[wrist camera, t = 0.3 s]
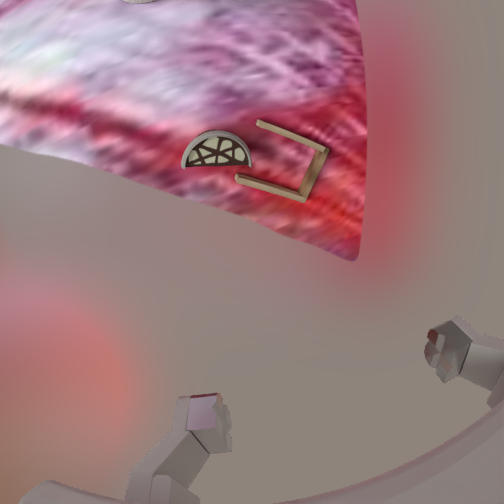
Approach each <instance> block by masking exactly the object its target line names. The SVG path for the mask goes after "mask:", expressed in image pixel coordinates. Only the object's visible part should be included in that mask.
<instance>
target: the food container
mask: <svg viewBox="0 0 504 504" xmlns="http://www.w3.org/2000/svg"><path fill="white" fill-rule="evenodd" d="M229 165H249V166H250V167H251V166H252V160H251V154H250V151H249V149H248V147H247V145H246V144H245V143H244V141H243V140H242V139H240V138H239V137H238V136H236V135H235V134H232V133H230V132H226V131H219V130H208V131H205V132H203V133H201V134H200V135H198V136H197V137H196V138H195V139H194V140H193V141H192V142H191V143H190V144H189V145H188V146H187V148H186V150H185V152H184V154H183V157H182V162H181V167H182V168H184V169H185V167H195V166H229Z"/></svg>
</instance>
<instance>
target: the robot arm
mask: <svg viewBox="0 0 504 504" xmlns="http://www.w3.org/2000/svg"><path fill="white" fill-rule="evenodd" d="M123 1H126V2H130V3H147V2H151V1H155V0H123ZM427 338H428V339H429V341H428V342H427V344H426V345H425V351H424V353H425V358H426V360H427V362H428V364H429V365H430V366H431V367H434V368H436V374H437V376H438V377H439V378H440V379H441V381H442V382H443V383H446V382H448V381H450V380H451V379H453V378H455V377H457V376H458V375H459V376H460V377H462V378H464V379H466V380H468V381H471V382H473V383H475V384H477V385H479V386H481V387H483V388H486V389H488V390H490V391H492V392H491V394H490V396H489V398H488V399H487V404H488V405H489V406H490V408H491V410H490V411H489V412H488V413H486V414H485V415H484V416H483V417H481V418H480V419H479V420H477V421H476V422H474V423H473V424H472V425H470V426H469V427H468V428H466V429H465V430H463V431H462V432H460V433H459V434H457V435H456V436H454V437H452V438H451V439H449V440H448V441H446V442H444V443H443V444H441V445H439V446H438V447H436V448H434V449H432V450H431V451H429V452H427V453H425V454H424V455H421V456H419V457H418V458H416V459H414V460H412V461H410V462H408V463H405V464H403V465H402V466H399V467H397V468H395V469H392V470H390V471H388V472H385V473H383V474H381V475H378V476H376V477H373V478H370V479H368V480H365V481H362V482H359V483H357V484H354V485H351V486H348V487H345V488H341V489H338V490H334V491H331V492H327V493H323V494H319V495H315V496H311V497H307V498H302V499H297V500H292V501H286V502H280V503H274V504H504V339H500V338H496V337H492V336H488V335H485V334H484V335H482V336H481V335H480V334H479V333H478V332H477V331H476V330H475V329H474V328H473V327H471V325H469V324H468V323H467V322H466V321H465V320H464V319H463V318H462V317H460V316H456V317H454V318H452V319H450V320H448V321H446V322H444V323H442V324H440V325H438V326H436V327H434V328H432V329H430V330H429V332H428V335H427ZM222 400H223V399H222V397H221V395H220V393H211V394H202V395H192V396H181V397H178V399H177V401H176V407H175V413H174V420H173V425H172V432H167V433H166V435H165V436H164V437H163V438H162V439H161V440H160V441H159V442H158V443H157V444H156V445H155V446H154V447H153V448H152V450H150V452H149V453H148V454H147V455H146V456H145V457H144V458H143V459H142V460H141V461H140V462H139V463H138V464H137V465H136V466H135V467H134V468H133V469H132V470H131V471H130V474H129V480H128V484H127V489H126V495H125V500H119V499H115V498H110V497H106V496H102V495H98V494H94V493H90V492H86V491H83V490H80V489H77V488H74V487H71V486H68V485H65V484H62V483H60V482H57V481H53V480H47V481H44V482H42V483H40V484H39V485H37V486H36V487H34V488H33V489H32V490H31V491H29V492H28V493H26V494H25V495H24V496H23V497H22V499H21V501H20V502H19V504H200V498H198V496H196V495H195V494H193V493H192V492H190V491H189V490H187V489H188V488H189V486H190V485H191V483H192V482H193V480H194V479H195V477H196V476H197V474H198V473H199V471H200V470H201V468H202V467H203V465H204V464H205V462H206V461H207V459H208V458H209V456H210V455H209V454H217V453H225V452H232V437H231V435H230V434H229V432H228V431H229V430H230V429H231V419H230V413H229V410H228V408H227V406H226V405H224V404H223V401H222Z"/></svg>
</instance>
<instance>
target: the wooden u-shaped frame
mask: <svg viewBox="0 0 504 504" xmlns="http://www.w3.org/2000/svg"><path fill="white" fill-rule="evenodd" d="M256 125H257V126H259V127H261V128H264V129H267V130H270V131H272V132H275V133H278V134H280V135H283V136H285V137H288V138H290V139H293V140H295V141H298V142H300V143H303V144H305V145H307V146H310V147H312V148H314V149H317V150H316V153H315V155H314V157H313V159H312V161H311V163H310V166H309V168H308V170H307V172H306V174H305V176H304V178H303V181H302V183H301V185H300V187H299V189H298V191H294V190H291V189H288V188H285V187H282V186H279V185H275V184H272V183H269V182H266V181H263V180H259V179H256V178H253V177H249V176H246V175H242V174H239V173H236V175H235V180H236V182H237V183H239V184H243V185H247V186H250V187H254V188H257V189H260V190H264V191H267V192H271V193H274V194H277V195H281V196H284V197H287V198H290V199H293V200H297V201H300V202H303V203H305V201H306V199H307V197H308V195H309V193H310V191H311V188H312V186H313V184H314V182H315V180H316V178H317V176H318V174H319V172H320V170H321V168H322V165H323V163H324V161H325V159H326V157H327V155H328V153H329V150H330V149H328V148H326V147H324V146H322V145H320V144H318V143H316V142H313V141H311V140H309V139H307V138H304V137H302V136H300V135H297V134H295V133H292V132H290V131H288V130H285V129H283V128H280V127H277V126H275V125H272V124H270V123H267V122H264V121H262V120H259V119H257V122H256Z"/></svg>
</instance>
